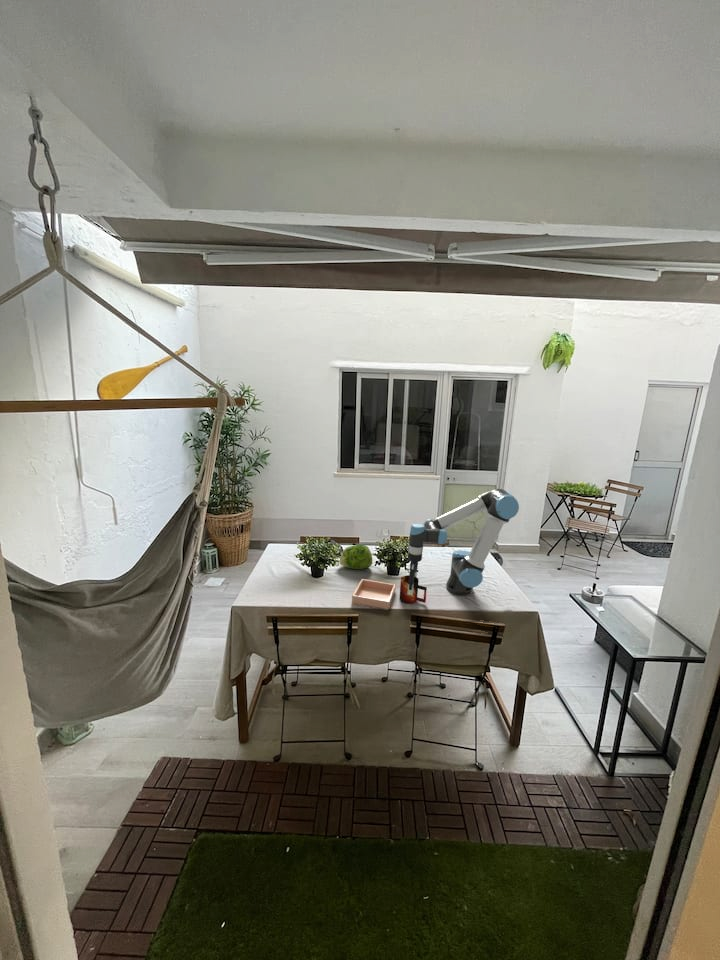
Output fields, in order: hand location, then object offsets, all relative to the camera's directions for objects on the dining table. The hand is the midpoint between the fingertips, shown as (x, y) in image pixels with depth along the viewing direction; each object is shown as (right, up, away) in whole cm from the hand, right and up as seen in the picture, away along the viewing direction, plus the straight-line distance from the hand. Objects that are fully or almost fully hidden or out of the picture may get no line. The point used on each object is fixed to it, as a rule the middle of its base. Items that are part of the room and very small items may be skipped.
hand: (411, 588), depth 223 cm
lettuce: (-31, +3, +38) cm, 49 cm away
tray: (-20, -5, +2) cm, 21 cm away
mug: (0, -7, +1) cm, 7 cm away
